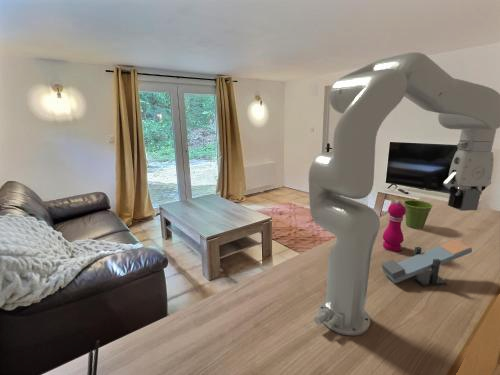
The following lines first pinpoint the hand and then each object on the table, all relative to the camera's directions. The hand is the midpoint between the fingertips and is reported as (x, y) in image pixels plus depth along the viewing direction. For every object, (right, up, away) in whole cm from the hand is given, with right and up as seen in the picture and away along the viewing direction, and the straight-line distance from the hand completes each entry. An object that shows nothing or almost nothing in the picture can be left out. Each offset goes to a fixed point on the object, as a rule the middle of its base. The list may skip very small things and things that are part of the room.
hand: (462, 206), depth 81 cm
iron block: (0, -1, 0) cm, 1 cm away
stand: (-8, -24, +5) cm, 26 cm away
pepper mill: (-8, -19, +25) cm, 32 cm away
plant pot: (+13, -13, +45) cm, 49 cm away
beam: (-9, -18, +4) cm, 20 cm away
